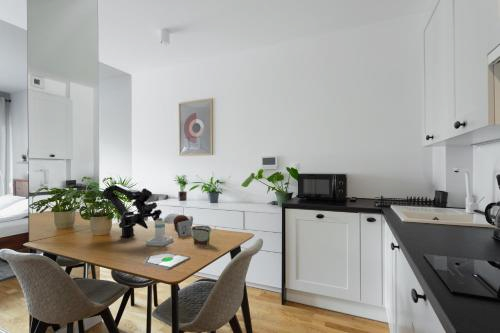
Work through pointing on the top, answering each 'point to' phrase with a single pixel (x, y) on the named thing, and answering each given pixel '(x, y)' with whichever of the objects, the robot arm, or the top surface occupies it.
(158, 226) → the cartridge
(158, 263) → the white flat slab
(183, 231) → the electrical switch
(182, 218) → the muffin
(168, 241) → the tray
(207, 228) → the food container
